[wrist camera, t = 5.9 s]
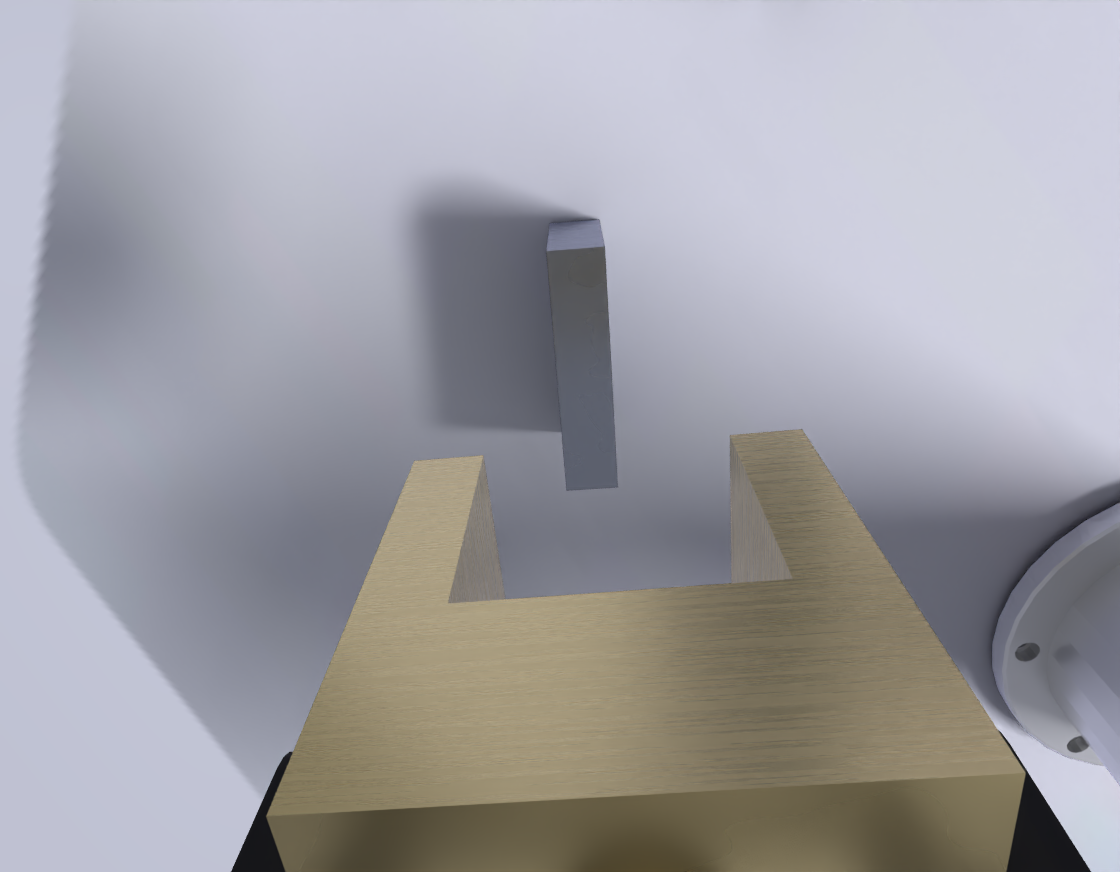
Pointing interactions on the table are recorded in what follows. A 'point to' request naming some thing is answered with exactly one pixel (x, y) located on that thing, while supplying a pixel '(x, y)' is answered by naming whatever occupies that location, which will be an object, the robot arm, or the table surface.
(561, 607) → the tan box with knob
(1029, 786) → the robot arm
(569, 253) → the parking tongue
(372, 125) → the table surface
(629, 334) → the table surface
